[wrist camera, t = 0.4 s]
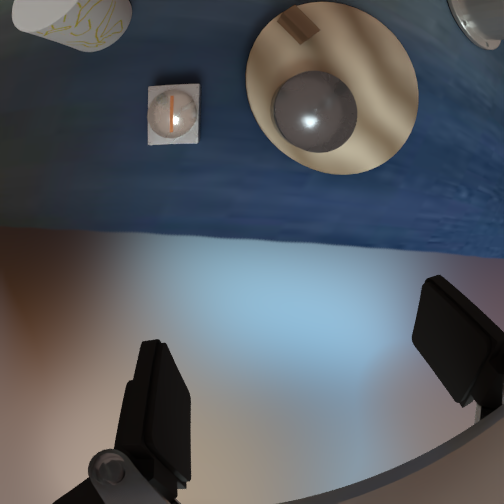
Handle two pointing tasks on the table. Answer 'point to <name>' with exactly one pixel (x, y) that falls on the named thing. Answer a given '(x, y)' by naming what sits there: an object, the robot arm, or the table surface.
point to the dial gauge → (174, 114)
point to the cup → (74, 21)
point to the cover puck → (314, 111)
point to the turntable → (347, 70)
